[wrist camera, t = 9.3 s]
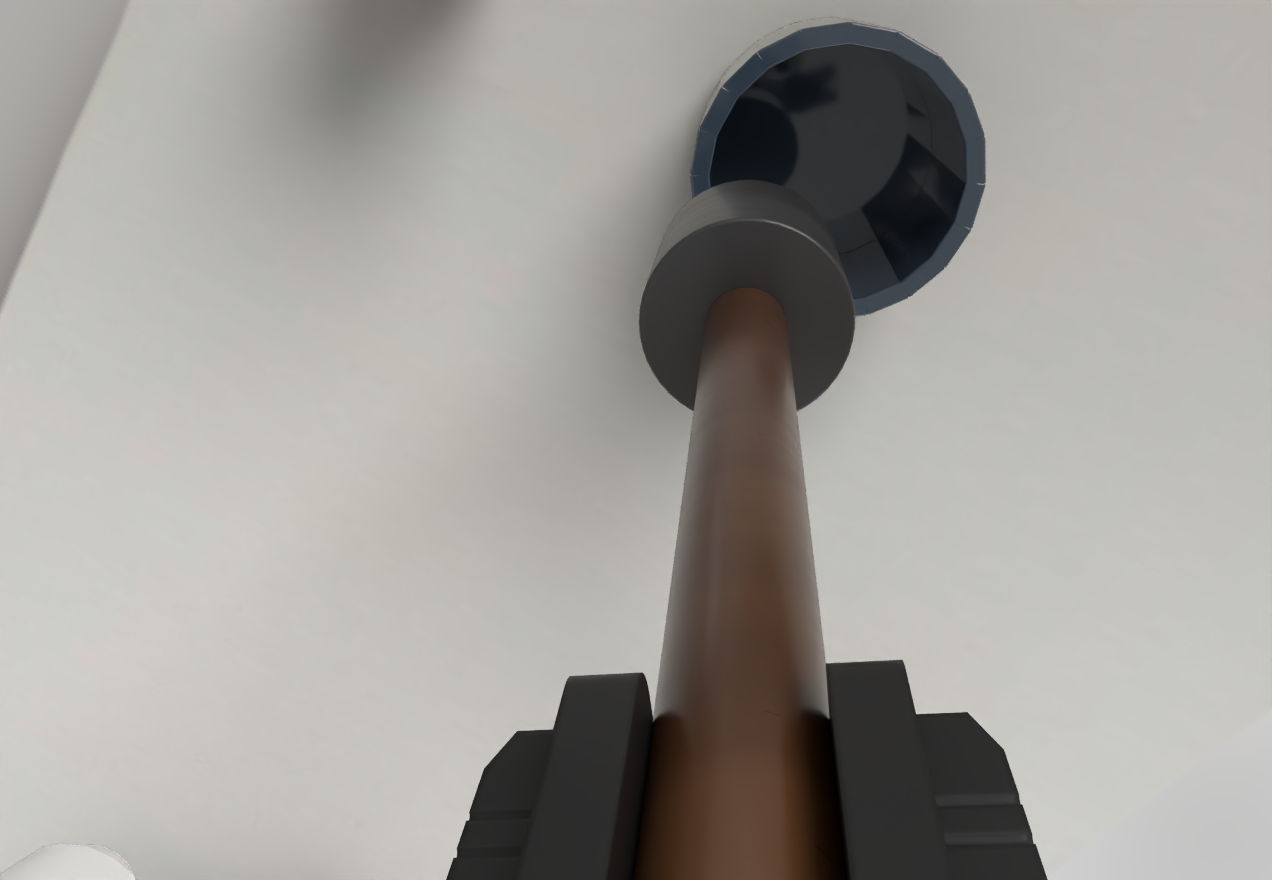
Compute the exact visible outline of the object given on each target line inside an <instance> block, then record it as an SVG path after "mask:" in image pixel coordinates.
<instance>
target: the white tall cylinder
mask: <svg viewBox="0 0 1272 880" xmlns="http://www.w3.org/2000/svg"><path fill="white" fill-rule="evenodd" d="M0 880H136V879H135V877H134V875H133V873H132V870H131V868H130V866H129V865H128V863H127V862H126V860H125V859H123V858H122V857H121V856H120V855H119V854H117V853H116V852H114V851H112V850H110V849H108V848H106V847H103V846H97V845H85V846H79V845H73V844H67V843H61V844H55V845H49V846H43V847H41V848H39V849H38V850H36V851H35V852H33V853H32V854H30V855H29V856H27V857H26V858H24V859H23V860H21V861H20V862H18V863H17V864H15V865H14V866H12V867H11V868H9V869H8V870H6V871H5V872H3V873H2V874H0Z"/></svg>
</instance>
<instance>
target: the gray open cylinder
mask: <svg viewBox="0 0 1272 880" xmlns="http://www.w3.org/2000/svg"><path fill="white" fill-rule="evenodd" d="M690 174H691V176H690V180H691V188H692V197H693V198H694V197H696V196H697V195H699V194H700V193H702V192H704V191H706V190H708V189H710V188H712V187H714V186H717V185H720V184H723V183H727V182H732V181H738V180H759V181H765V182H770V183H775V184H777V185H780V186H783V187H786V188H787V189H789V190H791V191H793V192H795V193H797V194H798V195H800V196H801V197H802V198H804V199H805V200H807V201H808V202H809V203H810V204H811V205H812V206H813V207H814V208H815V209H816V210H817V212H818V213H819V214H820V215H821V217H822V218H823V220H824V221H825V223H826V225H827V226H828V228H829V230H830V233H831V235H832V237H833V240H834V243H835V246H836V249H837V252H838V254H839V257H840V260H841V263H842V266H843V269H844V272H845V275H846V278H847V281H848V283H849V286H850V290H851V294H852V297H853V302H854V310H855V317H856V316H865V315H867V314H872V313H874V312H876V311H879V310H881V309H883V308H886V307H888V306H891V305H893V304H895V303H898V302H900V301H902V300H905V299H907V298H908V296H909V297H910V296H912V295H913V294H914V293H916V292H917V291H918V290H919V289H920V288H922V287H923V286H924V285H925V284H927V283H928V282H929V281H930V280H931V279H933V278H934V277H935V276H936V275H938V274H939V273H940V272H941V271H942V270H943V269H944V267H946V266H947V265H948V264H949V262H950V261H951V259H952V258H953V256H954V255H955V253H956V252H957V250H958V249H959V247H960V246H961V244H962V243H963V241H964V240H965V239H966V237H967V236H968V234H969V233H970V231H971V229H972V227H973V224H974V221H975V217H976V214H977V211H978V208H979V205H980V201H981V198H982V195H983V192H984V188H985V184H984V183H985V182H986V159H985V137H984V131H983V129H982V126H981V123H980V120H979V117H978V114H977V112H976V109H975V106H974V103H973V100H972V97H971V95H970V93H969V92H968V89H967V88H966V87H965V86H964V84H963V83H962V82H961V81H960V79H959V78H958V77H957V76H956V75H955V73H954V72H953V71H952V70H951V68H950V67H949V66H948V65H947V63H946V62H945V61H944V60H943V59H942V57H940V56H938V54H937V53H935V52H934V51H932V50H930V49H929V48H927V47H925V46H924V45H922V44H920V43H919V42H917V41H915V40H914V39H912V38H910V37H908V36H907V35H905V34H903V33H902V32H900V31H896V30H894V29H890V28H886V27H882V26H878V25H874V24H870V23H865V22H859V21H854V20H849V19H844V18H838V17H829V18H822V19H811V20H807V21H802V22H795V23H793V24H790V25H788V26H786V27H783V28H780V29H778V30H776V31H775V32H773V33H771V34H769V35H767V36H765V37H763V38H762V39H760V40H758V41H757V42H756V43H754V44H753V45H752V46H751V47H750V48H749V49H747V50H746V51H745V52H744V53H743V54H742V55H741V56H740V57H739V58H738V59H737V60H736V61H735V62H734V63H733V65H732V66H731V67H730V68H729V69H728V70H727V71H726V72H725V73H724V75H723V77H722V79H721V81H720V83H719V84H718V86H717V88H716V90H715V92H714V94H713V96H712V98H711V100H710V101H709V103H708V105H707V107H706V110H705V113H704V116H703V119H702V121H701V124H700V127H699V130H698V135H697V140H696V145H695V150H694V156H693V161H692V166H691V171H690Z"/></svg>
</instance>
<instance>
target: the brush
mask: <svg viewBox="0 0 1272 880" xmlns="http://www.w3.org/2000/svg"><path fill="white" fill-rule="evenodd" d="M639 330H640V338H641V343H642V348H643V351H644V354H645V357H646V360H647V362H648V364H649V366H650V368H651V370H652V372H653V373H654V375H655V376H656V378H657V379H658V381H659V382H660V384H661V385H662V386H663V387H664V388H665V389H666V390H667V391H668V393H669V394H671V395H672V396H673V397H674V398H675V399H676V400H678V401H679V402H680V403H682V404H683V405H685V406H686V407H688V408H689V409H691V410H693V411H694V413H693V421H692V428H691V436H690V443H689V451H688V458H687V466H686V474H685V481H684V489H683V496H682V504H681V511H680V519H679V527H678V534H677V542H676V549H675V557H674V564H673V572H672V580H671V587H670V595H669V602H668V610H667V617H666V625H665V633H664V640H663V648H662V655H661V663H660V670H659V678H658V686H657V693H656V701H655V708H654V716H653V729H652V737H651V744H650V752H649V760H648V767H647V775H646V783H645V790H644V798H643V805H642V813H641V821H640V828H639V836H638V844H637V851H636V859H635V867H634V874H633V880H847V875H846V866H845V857H844V848H843V839H842V829H841V820H840V811H839V802H838V793H837V784H836V774H835V765H834V756H833V747H832V738H831V729H830V720H829V706H828V693H827V679H826V661H825V652H824V643H823V635H822V626H821V617H820V609H819V600H818V591H817V583H816V574H815V565H814V556H813V548H812V539H811V530H810V522H809V513H808V504H807V496H806V487H805V478H804V470H803V461H802V452H801V444H800V435H799V426H798V417H797V411H799V410H801V409H803V408H804V407H806V406H808V405H809V404H810V403H812V402H813V401H814V400H816V399H817V398H818V397H819V396H820V395H821V394H823V393H824V392H825V391H826V390H827V389H828V388H829V386H830V385H831V384H832V383H833V381H834V380H835V379H836V378H837V376H838V374H839V373H840V371H841V369H842V368H843V366H844V364H845V362H846V359H847V357H848V355H849V352H850V349H851V345H852V342H853V336H854V330H855V310H854V302H853V297H852V294H851V290H850V286H849V283H848V281H847V278H846V275H845V272H844V269H843V266H842V263H841V260H840V257H839V254H838V252H837V249H836V246H835V243H834V240H833V237H832V235H831V233H830V230H829V228H828V226H827V225H826V223H825V221H824V220H823V218H822V217H821V215H820V214H819V213H818V212H817V210H816V209H815V208H814V207H813V206H812V205H811V204H810V203H809V202H808V201H807V200H805V199H804V198H802V197H801V196H800V195H798V194H797V193H795V192H793V191H791V190H789V189H787V188H786V187H783V186H780V185H777V184H775V183H770V182H765V181H759V180H738V181H732V182H727V183H723V184H720V185H717V186H714V187H712V188H710V189H708V190H706V191H704V192H702V193H700V194H699V195H697V196H696V197H694V198H693V199H692V200H690V201H689V202H688V203H687V204H686V205H685V206H683V208H682V209H681V210H680V211H679V212H678V213H677V214H676V215H675V217H674V218H673V220H672V221H671V223H670V224H669V226H668V228H667V230H666V232H665V234H664V236H663V239H662V241H661V244H660V247H659V250H658V253H657V256H656V258H655V261H654V264H653V267H652V270H651V273H650V275H649V278H648V281H647V284H646V287H645V290H644V292H643V295H642V300H641V305H640V313H639Z"/></svg>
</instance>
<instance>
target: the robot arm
mask: <svg viewBox="0 0 1272 880" xmlns="http://www.w3.org/2000/svg"><path fill="white" fill-rule="evenodd" d="M826 679H827V693H828V706H829V720H830V729H831V738H832V747H833V756H834V765H835V774H836V784H837V793H838V802H839V811H840V820H841V829H842V839H843V848H844V857H845V866H846V875H847V880H1047V877H1046V874H1045V871H1044V868H1043V865H1042V862H1041V859H1040V856H1039V853H1038V850H1037V847H1036V844H1033V839H1032V832H1031V829H1030V826H1029V823H1028V820H1027V817H1026V814H1025V811H1024V808H1023V805H1020V800H1019V793H1018V790H1017V787H1016V785H1015V782H1014V779H1013V776H1012V773H1011V770H1010V767H1009V764H1008V761H1007V758H1006V755H1005V752H1004V749H1003V748H1002V747H1001V746H1000V745H999V744H998V743H997V742H996V741H995V740H994V739H993V738H992V737H991V736H990V735H989V734H988V733H987V732H986V731H985V730H984V729H983V728H982V727H981V726H980V725H979V724H978V723H977V722H976V721H975V720H974V719H973V718H972V717H971V716H970V715H969V714H968V712H962V713H939V714H916V712H915V708H914V704H913V699H912V695H911V691H910V686H909V682H908V678H907V673H906V669H905V665H904V662H903V660H889V661H869V662H849V663H829V664H826ZM652 729H653V715H652V709H651V702H650V696H649V690H648V685H647V681H646V678H645V675H644V674H643V673H624V674H605V675H585V676H570V677H569V678H568V679H567V681H566V684H565V687H564V691H563V695H562V698H561V702H560V706H559V710H558V714H557V717H556V721H555V725H554V729H553V730H532V731H517V732H516V733H515V734H514V736H513V737H512V738H511V739H510V740H509V741H508V742H507V743H506V745H505V746H504V747H503V748H502V749H501V750H500V751H499V753H498V754H497V755H496V756H495V757H494V758H493V759H492V760H491V762H490V763H489V764H488V765H487V766H486V767H485V768H484V771H483V774H482V777H481V780H480V782H479V785H478V788H477V791H476V794H475V797H474V800H473V803H472V806H471V809H470V812H469V813H470V819H469V821H466V823H465V826H464V829H463V832H462V835H461V838H460V841H459V844H458V847H457V858H454V859H453V861H452V864H451V867H450V870H449V873H448V876H447V879H446V880H633V874H634V867H635V859H636V851H637V844H638V836H639V828H640V821H641V813H642V805H643V798H644V790H645V783H646V775H647V767H648V760H649V752H650V744H651V737H652Z"/></svg>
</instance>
